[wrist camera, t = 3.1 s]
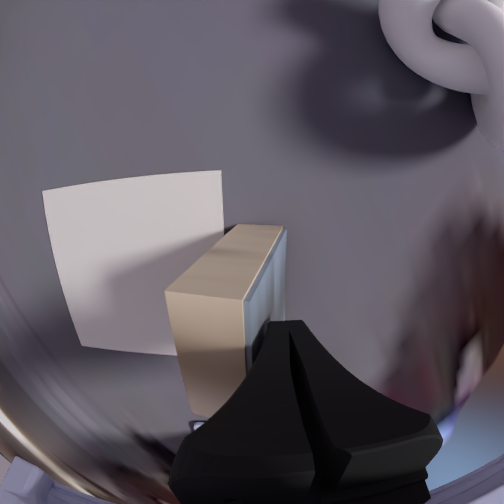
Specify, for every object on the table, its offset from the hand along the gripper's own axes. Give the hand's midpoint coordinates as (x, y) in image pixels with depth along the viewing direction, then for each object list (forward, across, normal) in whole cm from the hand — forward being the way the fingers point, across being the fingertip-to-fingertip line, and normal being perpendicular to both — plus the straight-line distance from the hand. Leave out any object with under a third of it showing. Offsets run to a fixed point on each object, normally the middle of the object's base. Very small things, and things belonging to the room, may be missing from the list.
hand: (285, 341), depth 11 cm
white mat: (+6, +9, 0) cm, 11 cm away
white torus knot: (+7, -12, -15) cm, 20 cm away
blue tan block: (+6, +1, 0) cm, 6 cm away
